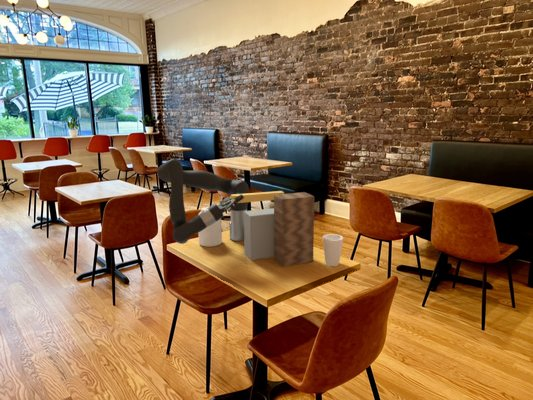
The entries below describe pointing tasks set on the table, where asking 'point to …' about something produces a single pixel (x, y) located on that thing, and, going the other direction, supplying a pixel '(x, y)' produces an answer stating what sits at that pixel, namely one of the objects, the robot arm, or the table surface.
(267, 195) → the rail
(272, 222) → the block
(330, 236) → the foam cup
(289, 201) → the stand
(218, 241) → the white jar
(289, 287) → the table surface
